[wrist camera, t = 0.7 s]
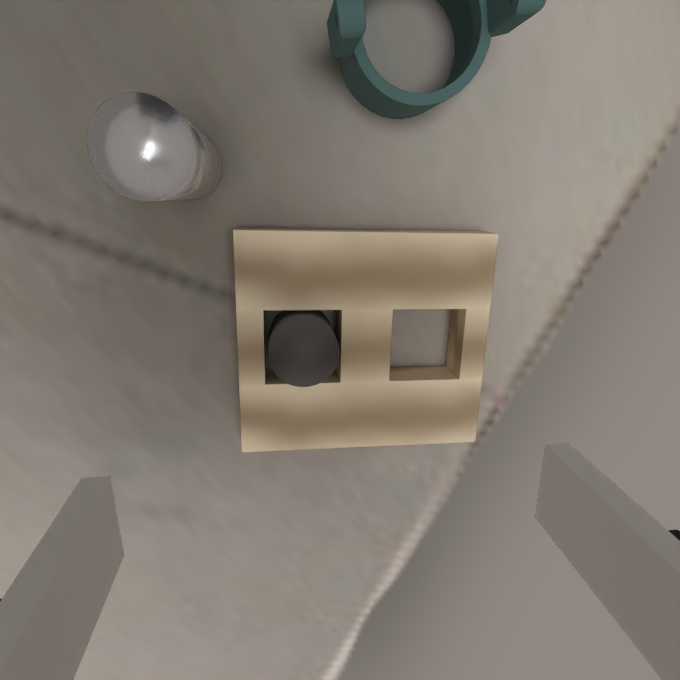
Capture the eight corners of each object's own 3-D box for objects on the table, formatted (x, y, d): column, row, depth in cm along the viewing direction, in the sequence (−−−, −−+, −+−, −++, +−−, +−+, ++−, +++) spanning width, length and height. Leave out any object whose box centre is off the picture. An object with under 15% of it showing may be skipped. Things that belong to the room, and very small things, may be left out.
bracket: (488, 43, 32) (564, -14, 24) (397, 151, 34) (438, 133, 25) (393, -69, 30) (440, -177, 21) (298, 51, 31) (307, -5, 23)
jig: (236, 227, 34) (231, 231, 29) (480, 230, 36) (508, 235, 32) (244, 433, 38) (240, 462, 34) (460, 424, 41) (482, 450, 36)
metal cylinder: (151, 128, 31) (80, 89, 20) (220, 131, 32) (190, 94, 20) (157, 198, 32) (93, 200, 21) (223, 200, 33) (197, 202, 22)
